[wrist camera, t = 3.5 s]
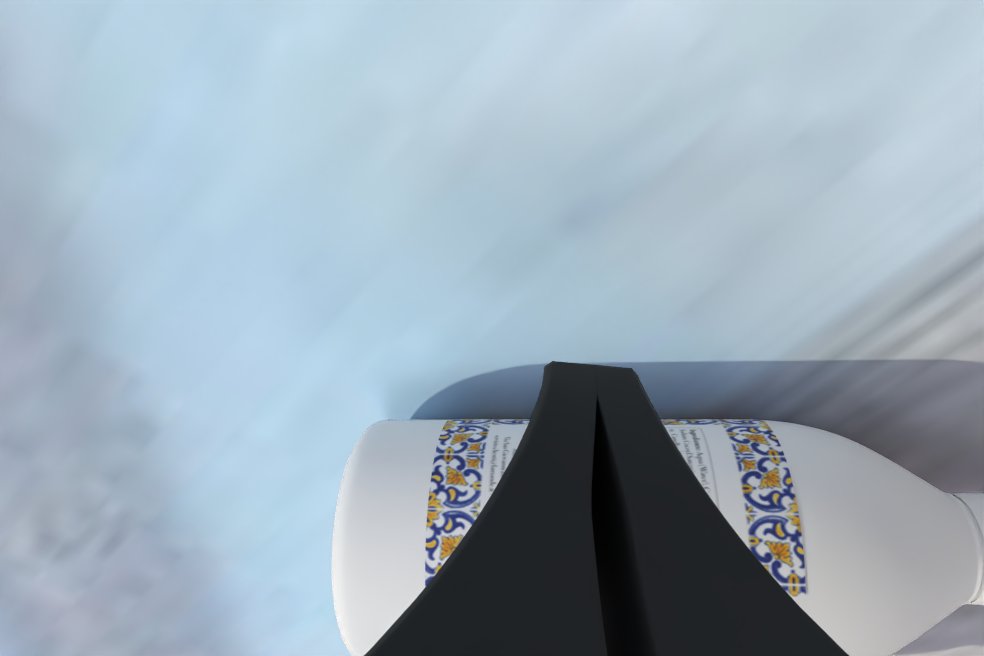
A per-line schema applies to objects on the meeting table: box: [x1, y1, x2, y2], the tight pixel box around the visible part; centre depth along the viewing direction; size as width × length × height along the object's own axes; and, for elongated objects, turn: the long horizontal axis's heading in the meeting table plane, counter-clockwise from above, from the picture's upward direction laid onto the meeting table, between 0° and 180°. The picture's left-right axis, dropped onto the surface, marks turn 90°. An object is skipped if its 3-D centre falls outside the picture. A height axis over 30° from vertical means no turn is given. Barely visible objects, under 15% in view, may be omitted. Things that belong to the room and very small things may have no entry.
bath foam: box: [332, 419, 984, 656], centre depth 20 cm, size 7×7×20 cm
